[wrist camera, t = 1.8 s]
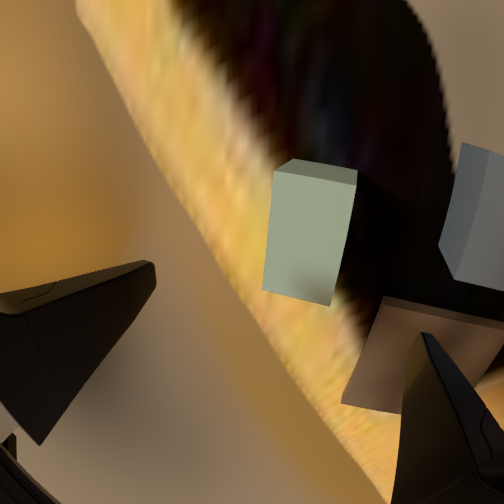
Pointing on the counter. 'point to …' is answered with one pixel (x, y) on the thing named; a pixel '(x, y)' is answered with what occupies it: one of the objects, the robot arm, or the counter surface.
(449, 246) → the charcoal brick
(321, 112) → the counter surface
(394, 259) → the counter surface
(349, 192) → the sage brick
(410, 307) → the walnut board
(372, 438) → the counter surface
